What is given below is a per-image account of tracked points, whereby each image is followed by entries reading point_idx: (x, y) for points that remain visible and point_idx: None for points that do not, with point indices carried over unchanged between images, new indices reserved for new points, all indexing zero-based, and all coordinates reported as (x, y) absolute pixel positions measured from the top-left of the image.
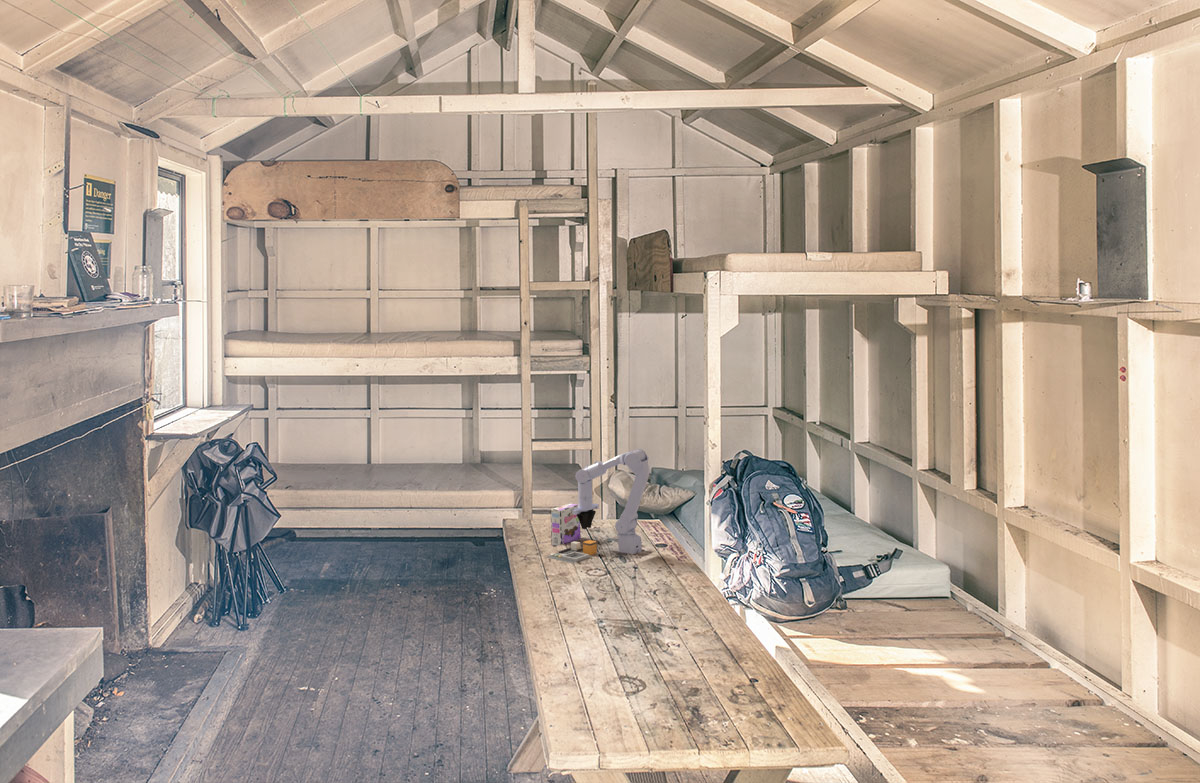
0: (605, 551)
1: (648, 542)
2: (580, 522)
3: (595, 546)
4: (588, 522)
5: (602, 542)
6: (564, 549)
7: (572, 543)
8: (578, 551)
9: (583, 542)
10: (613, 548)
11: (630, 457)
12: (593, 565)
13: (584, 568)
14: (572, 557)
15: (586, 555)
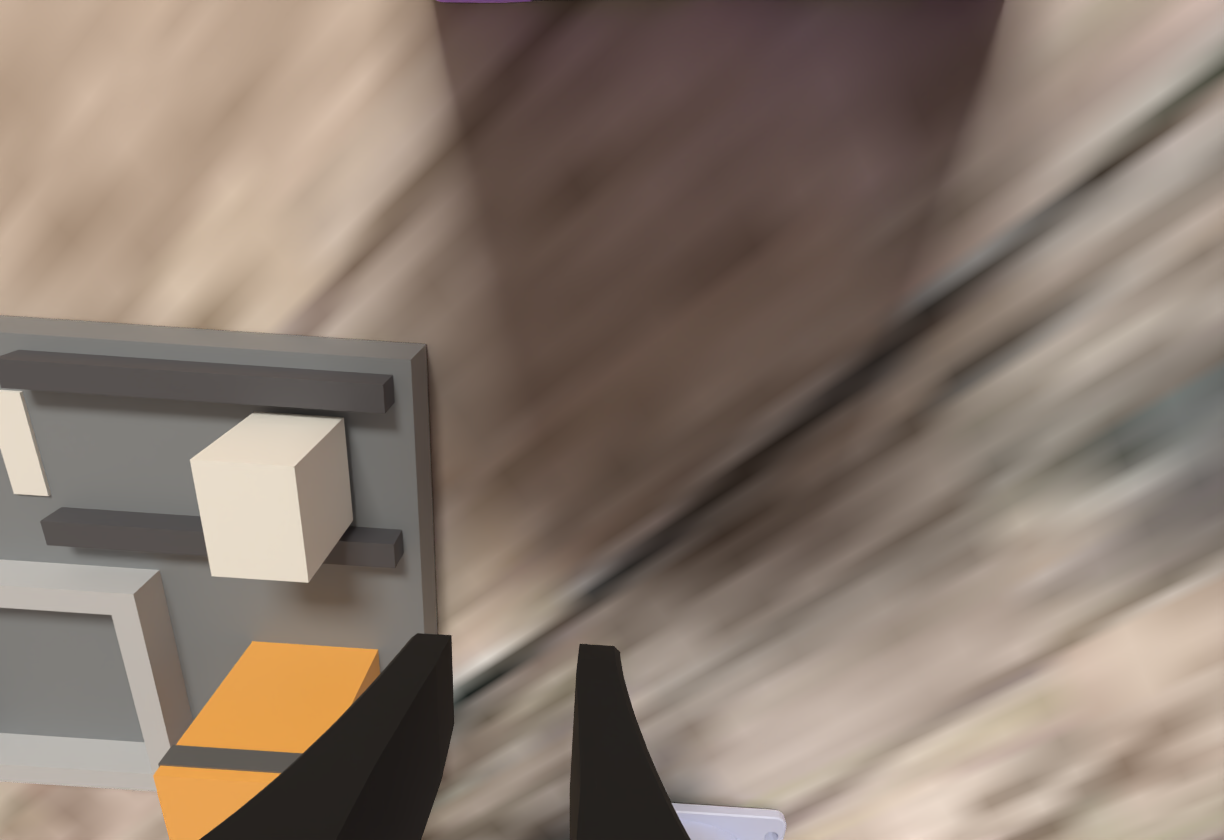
0: (635, 666)
1: (1193, 826)
2: (316, 757)
3: None
4: (574, 813)
5: (1020, 397)
6: (129, 372)
7: (202, 492)
8: None
9: (157, 783)
10: (796, 670)
11: None
12: (155, 827)
13: (24, 816)
14: (50, 626)
15: (136, 789)
